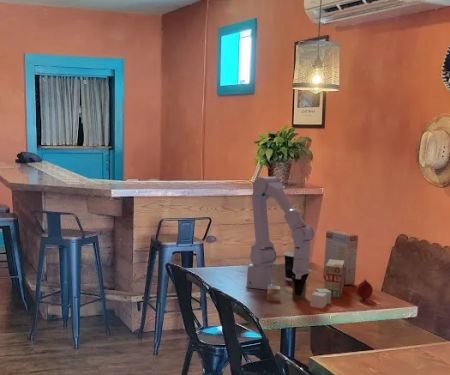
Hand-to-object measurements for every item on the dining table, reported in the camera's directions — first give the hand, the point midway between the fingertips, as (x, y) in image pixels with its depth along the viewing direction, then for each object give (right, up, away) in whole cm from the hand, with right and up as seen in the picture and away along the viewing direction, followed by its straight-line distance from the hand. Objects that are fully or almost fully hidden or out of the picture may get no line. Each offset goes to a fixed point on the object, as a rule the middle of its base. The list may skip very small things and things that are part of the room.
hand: (299, 293), depth 231 cm
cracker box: (+20, 0, +29) cm, 35 cm away
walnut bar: (0, -2, 0) cm, 2 cm away
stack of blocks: (+16, -1, +14) cm, 21 cm away
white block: (+6, -3, -9) cm, 11 cm away
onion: (+25, -3, +3) cm, 25 cm away
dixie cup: (0, +1, +28) cm, 28 cm away
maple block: (-10, -2, -3) cm, 10 cm away
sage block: (+8, -3, -4) cm, 9 cm away
